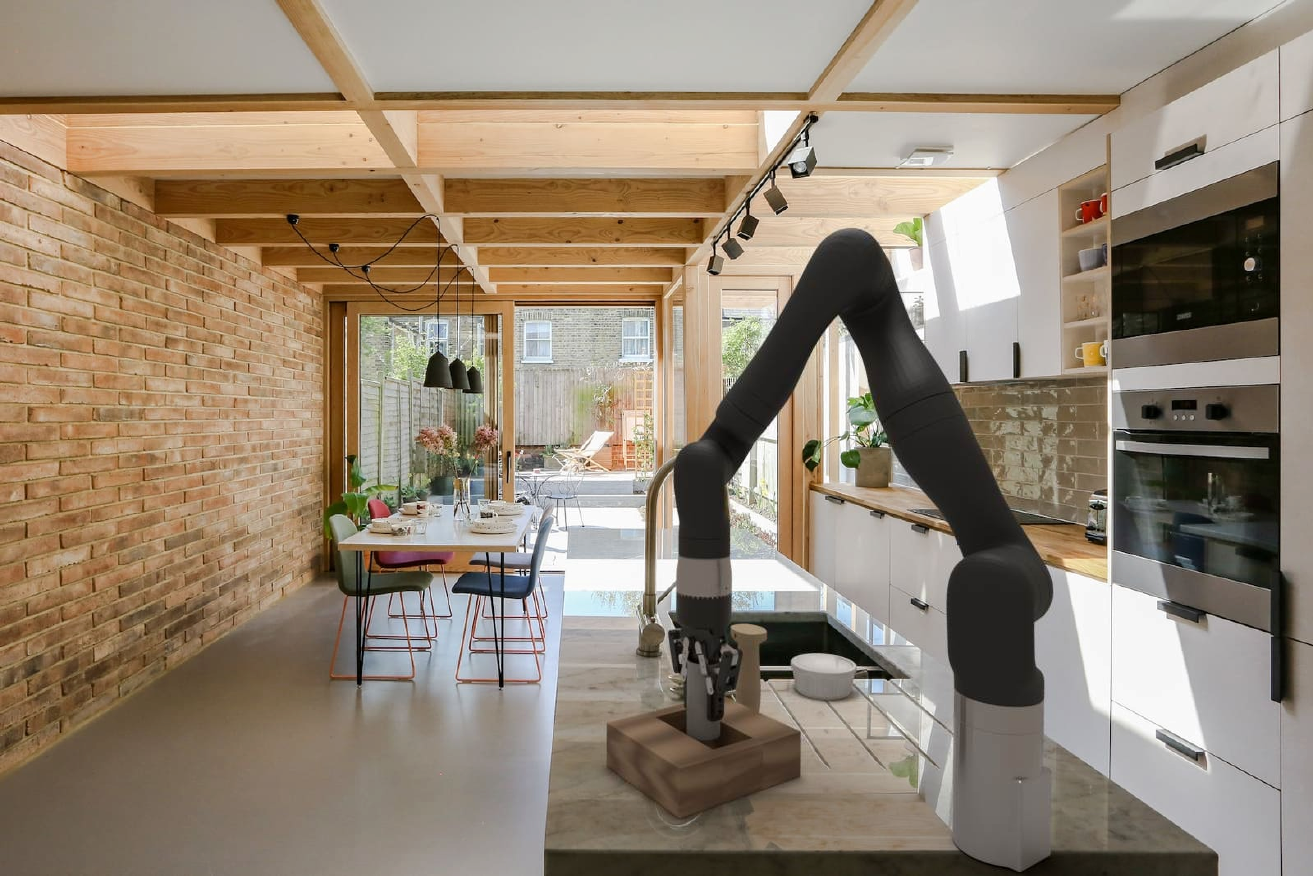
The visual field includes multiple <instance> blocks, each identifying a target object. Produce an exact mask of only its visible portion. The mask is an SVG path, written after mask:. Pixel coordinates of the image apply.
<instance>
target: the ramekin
mask: <svg viewBox="0 0 1313 876" xmlns="http://www.w3.org/2000/svg"><path fill="white" fill-rule="evenodd" d="M790 667H791V669H792V674H793V680H794V687H795V688H796V690H797V691H798V692H799V693H800V694H801V695H802V696H804V697H807V698H809V699H813V700H820V701H838V700H843V699H845V698H847V697H848V696H849V695H850V694H851V693H852V689H853V686H854V685H853V684H854V679H855V674H856V673H857V664H856V663H855V662H854V661H853V660H851V659H849V658H846V657H843V656H841V655H835V654H830V653H821V652H820V653H818V652H817V653H815V652H814V653H804V654H799V655H796V656H793V657H792V659H790Z"/></svg>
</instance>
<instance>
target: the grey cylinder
mask: <svg viewBox="0 0 1313 876" xmlns="http://www.w3.org/2000/svg"><path fill="white" fill-rule="evenodd" d="M719 664H720V662H718V663H717V664H713V665H709V668H710V669H715V668H718V667H719ZM717 679H718V674H715V675H714V683H715V684H717ZM707 693H708V690H707V684H706V679H705V677H704V676H702V674H701V668H700V663H695V662H692V661H691V658H688V659H687V735H688V736H690V737H692V738H693V739H696V740H702V741H707V740H713V739H716V738H718V737H719V736H720V720H719V721H715V722H711V721H709V720H708V719H707Z"/></svg>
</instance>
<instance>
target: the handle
mask: <svg viewBox="0 0 1313 876" xmlns="http://www.w3.org/2000/svg"><path fill="white" fill-rule="evenodd" d="M730 635H731V638H732V640H733V641H735V642H736V643H737V649H741V650H742V652H743V657H742V661H741V666H740V671H739V676H738V681H737V685H736V689H735V701H736V702H738V703H740V704H742V705H744V706H746V707H749V708H751V709H753V710H755V711H757V712H759V713H760V709H761V708H760V707H761V696H762V695H761V694H762V692H761V691H762V688H761V684H762V683H761V667H760V644H762V643H764V642H765V641H767V638H768V631H767V629H765V628H764V627H762V626H759V625H756V624H750V623H736V624H732V625H730Z"/></svg>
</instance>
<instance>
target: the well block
mask: <svg viewBox="0 0 1313 876" xmlns="http://www.w3.org/2000/svg"><path fill="white" fill-rule="evenodd" d="M801 733H802V731H801V730H798V729H796V728H794V727H792V726H789V725H788V724H785V723H782V722H780V721H779V720H776V719H775V718H772V717H770V716H768V715H766V714H764V713H761V712H760V711H759V712H757V711H755V710H753V709H751V708H749V707H746V706H744V705H742V704H740V703H738V702H736V700H734V699H731V698H730V697H727V696H725V695H724V716H723V718H722V719H721V720H720V736H719V737H718V738H716V739H713V740H707V741H702V740H696V739H693V738H692V737H690V736H688V735H687V709H686V708H685V707H684V703H682V704H677V705H673V706H669V707H664V708H662V709H661V708H660V709H656V710H652V711H649V712H645V713H644V712H643V713H640V714H637V715H633V716H628V717H625V718H620V719H617V720H616V719H615V720H613V721H609V722H606V767H607V768H608V769H610V770H611V771H612V772H614V773H615V774H617V775H618V776H619V777H621V778H622V779H624V780H625V781H627V782H628V783H630V785H632V786H633V787H635V788H636V789H637V790H639V791H641V792H642V793H643V794H645V796H646V797H649V798H650V799H652V801H654V802H656V803H657V804H658V805H659V806H661V807H662V808H664V809H665V810H667V811H668V812H669V813H671V814H672V815H674V816H675V817H676V818H678V819H682V818H685V817H688V816H692V815H694V814H696V813H699V812H702V811H707V810H708V809H711V808H713V807H717V806H719V805H722V804H725V803H728V802H730V801H734V800H737V799H739V798H743V797H745V796H748V795H751V794H754V793H756V792H759V791H762V790H764V789H767V788H771V787H774V786H776V785H779V784H783V783H784V782H788V781H791V780H793V779H796V778H799V777H801V774H802V773H801V770H802V769H801V767H802V766H801V761H802V760H801V753H802V752H801V751H802V750H801V749H802V747H801V746H802V745H801V744H802V742H801V741H802V739H801V738H802V734H801Z"/></svg>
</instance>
